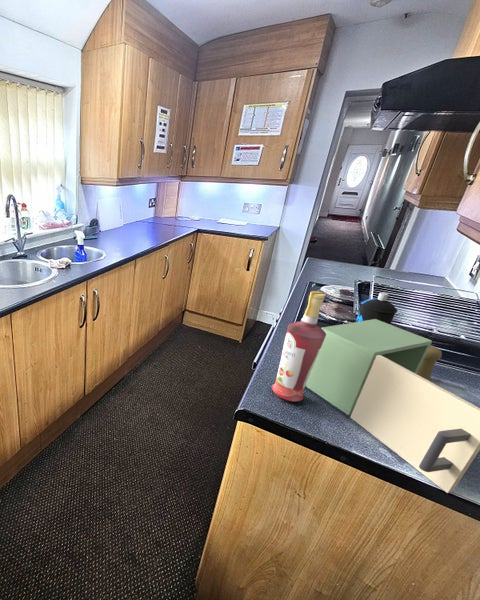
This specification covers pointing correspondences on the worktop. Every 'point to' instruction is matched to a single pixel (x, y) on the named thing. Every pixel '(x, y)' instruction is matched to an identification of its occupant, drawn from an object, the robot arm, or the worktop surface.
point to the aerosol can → (377, 309)
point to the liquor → (300, 352)
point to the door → (419, 422)
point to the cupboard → (360, 358)
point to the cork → (429, 362)
